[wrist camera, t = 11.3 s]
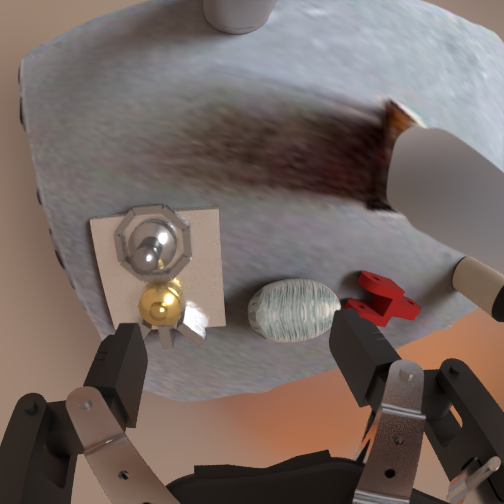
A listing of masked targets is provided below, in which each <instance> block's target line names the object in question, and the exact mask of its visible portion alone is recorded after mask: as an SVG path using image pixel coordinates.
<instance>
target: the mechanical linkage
mask: <svg viewBox="0 0 504 504" xmlns="http://www.w3.org/2000/svg"><path fill="white" fill-rule="evenodd" d="M357 282H358V284H359V285H360V286H362V287H363V288H365V289H366V290H368V291H370V292H372V293H374V294H375V295H374V297H373V299H372V301H371V303H368V302H364V301H360V300H356V299H352V298H349V299H348V300H347V302H346V304H345V306H344V308H343V309H348V308H353V309H355V311H356V312H357V313H358V314H359V316H360V317H361V318H366V319H367V320H369V321H371V322H372V323H374V324H375V325H376V326H381V327H385V326H386V325H387V323H388V321H389V320H390V318H391V316H395V317H400V318H404V319H409V320H415V318H416V316H417V315H418V313H419V311H420V309H421V307H420V306H419V305H418V304H417V303H416V302H414V301H413V300H411V299H409V298H407V297H404V296H403V295H404V293H405V291H404V290H402V289H401V288H400V287H399V286H398V285H397V284H396V283H394V282H393V281H392V280H391V279H388V278H385V277H382V276H379V275H376V274H373V273H370V272H367V271H362V272H361V274H360V276H359V278H358V280H357Z"/></svg>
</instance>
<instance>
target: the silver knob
mask: <svg viewBox="0 0 504 504" xmlns="http://www.w3.org/2000/svg"><path fill="white" fill-rule="evenodd" d="M176 249H177V238H176V235H175V233H174V231H173V230H172V229H171V227H170V226H169V225H167V224H166V223H164V222H162V221H159V220H147V221H144V222H142V223H141V224H139V225H138V226H137V227H136V228H135V229H134V231H133V232H132V233H131V235H130V237H129V241H128V250H129V253H130V256H131V259H130V265H131V267H132V269H133V270H134V272H136V273H137V274H139V275H149V274H151V273H152V272H153V271H154V270H159V269H162V268H164V267H166V266H167V265H169V264H170V262H171V261H172V260H173V258H174V255H175V252H176Z"/></svg>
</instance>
